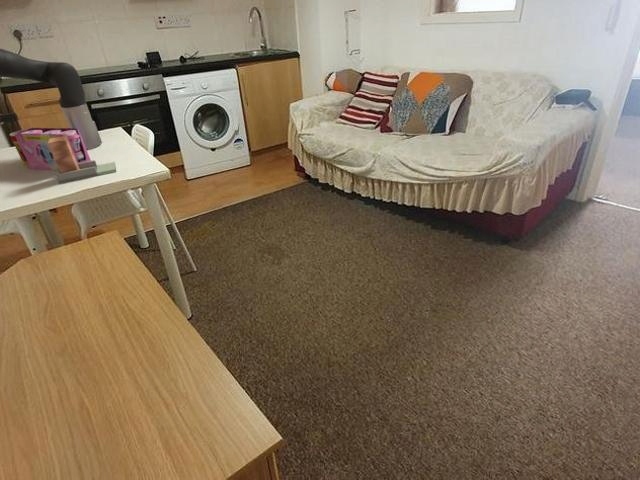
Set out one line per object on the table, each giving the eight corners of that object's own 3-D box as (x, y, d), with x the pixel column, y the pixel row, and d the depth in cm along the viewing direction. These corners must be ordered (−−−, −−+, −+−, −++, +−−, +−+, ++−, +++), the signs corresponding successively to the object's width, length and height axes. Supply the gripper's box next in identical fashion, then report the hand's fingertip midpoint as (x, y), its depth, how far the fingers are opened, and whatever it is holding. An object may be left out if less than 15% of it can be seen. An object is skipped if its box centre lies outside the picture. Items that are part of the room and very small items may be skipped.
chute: (59, 183, 131) (55, 175, 129) (60, 175, 138) (57, 167, 136) (116, 171, 137) (113, 163, 136) (115, 164, 144) (112, 156, 143)
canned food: (36, 166, 149) (21, 135, 142) (19, 166, 150) (4, 135, 144) (51, 159, 155) (38, 129, 149) (35, 159, 157) (21, 129, 151)
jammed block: (62, 177, 132) (47, 143, 126) (64, 172, 137) (49, 138, 130) (79, 174, 134) (65, 140, 127) (79, 169, 138) (66, 136, 132)
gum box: (96, 164, 146) (82, 128, 139) (79, 171, 140) (64, 134, 133) (47, 161, 153) (32, 127, 146) (29, 169, 147) (12, 133, 140)
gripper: (-67, 118, 108) (7, 108, 114) (-52, 109, 119) (14, 100, 125) (-51, 144, 112) (19, 133, 118) (-39, 134, 123) (25, 124, 129)
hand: (16, 116), depth 122 cm, fingers closed
